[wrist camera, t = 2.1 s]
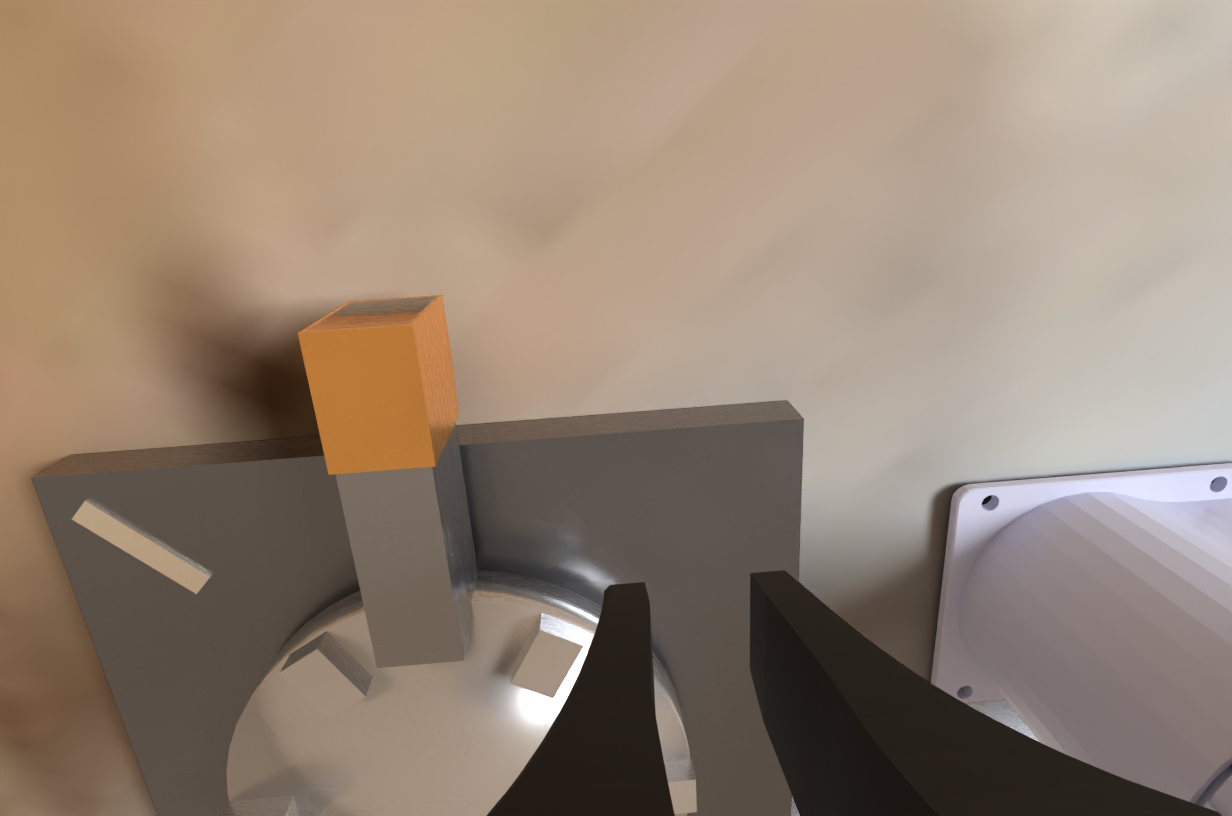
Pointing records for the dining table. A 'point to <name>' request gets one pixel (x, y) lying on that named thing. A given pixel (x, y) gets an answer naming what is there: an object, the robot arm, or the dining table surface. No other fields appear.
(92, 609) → the base plate
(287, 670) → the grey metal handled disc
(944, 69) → the dining table surface
